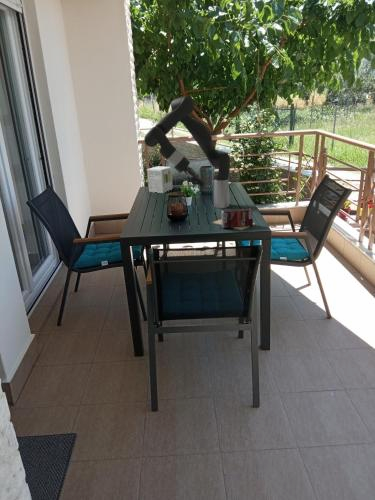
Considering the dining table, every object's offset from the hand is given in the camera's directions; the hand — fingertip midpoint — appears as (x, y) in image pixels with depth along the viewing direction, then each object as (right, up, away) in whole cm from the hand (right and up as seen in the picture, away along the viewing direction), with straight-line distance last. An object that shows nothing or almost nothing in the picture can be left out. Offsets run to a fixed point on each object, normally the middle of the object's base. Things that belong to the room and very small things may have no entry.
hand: (203, 185), depth 196 cm
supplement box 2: (+10, -17, +7) cm, 20 cm away
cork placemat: (+17, -18, +14) cm, 29 cm away
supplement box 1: (-28, +12, +100) cm, 105 cm away
